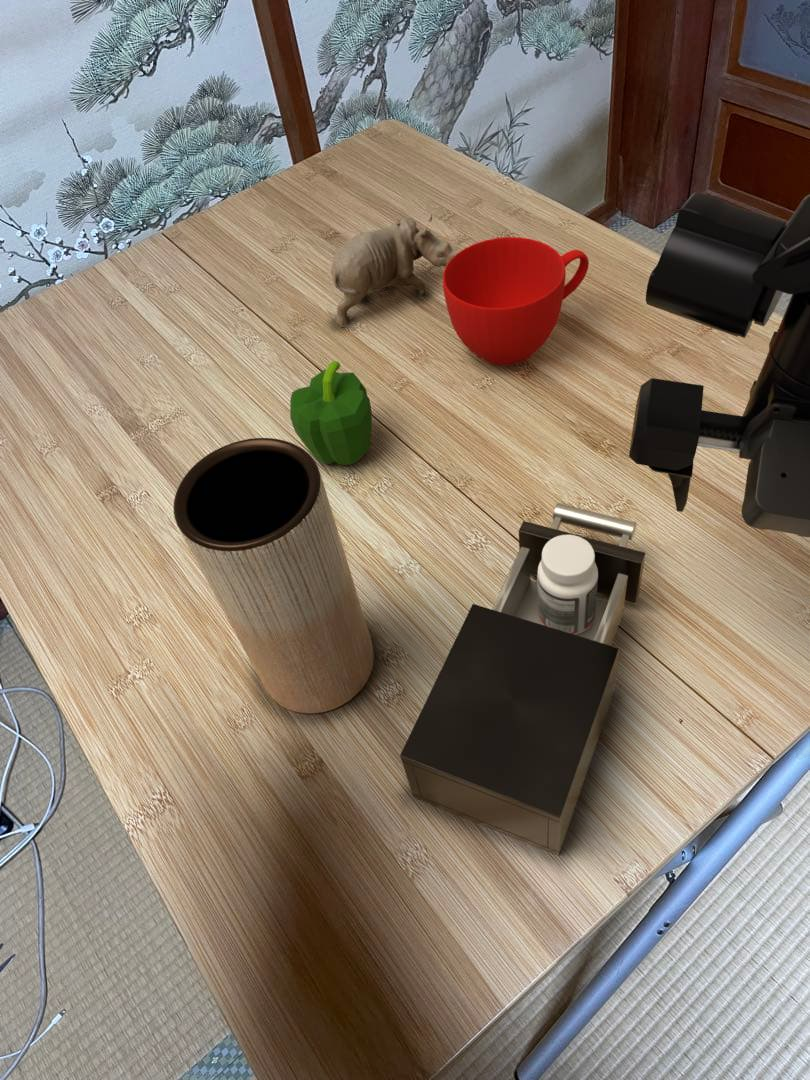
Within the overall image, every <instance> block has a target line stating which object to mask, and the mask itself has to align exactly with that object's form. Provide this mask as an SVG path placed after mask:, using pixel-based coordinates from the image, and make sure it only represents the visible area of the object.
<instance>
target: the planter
mask: <svg viewBox="0 0 810 1080" xmlns="http://www.w3.org/2000/svg"><path fill="white" fill-rule="evenodd" d="M330 503H331V502H330V501H329V497H328V493H327V491H326V487H325V484H324V481H323V478H322V474H321V471H320V469H319V466H318V464H317V463H316V461H315V459H314V458H313V457H312V456H311V454H309V452H307V451H306V450H305V449H303V448H302V447H301V446H299V445H297V444H295V443H293V442H290V441H287V440H284V439H280V438H273V437H255V438H247V439H242V440H238V441H234V442H231V443H229V444H226V445H224V446H221V447H218V448H216V449H215V450H213V451H211V452H210V453H208V454H206V455H205V456H204V457H203V458H201V459H200V460H198V461H197V462H196V463H195V464H194V465H193V466H192V467H191V468H190V469H189V470H188V471H187V472H186V474H185V475H184V477H183V478H182V479H181V481H180V483H179V485H178V487H177V489H176V492H175V495H174V498H173V506H172V507H173V508H172V509H173V517H174V521H175V523H176V526H177V528H178V530H179V532H180V534H181V536H182V537H183V539H184V542H185V544H186V545H187V547H188V548H189V551H190V552H191V555H192V556H193V558H194V560H195V562H196V563H197V566H198V567H199V569H200V571H201V573H202V575H203V576H204V578H205V580H206V582H207V584H208V586H209V588H210V589H211V591H212V593H213V595H214V597H215V599H216V601H217V602H218V604H219V606H220V608H221V610H222V611H223V613H224V615H225V617H226V619H227V621H228V623H229V625H230V626H231V628H232V630H233V632H234V634H235V635H236V638H237V640H238V641H239V643H240V645H241V646H242V649H243V651H244V652H245V654H246V656H247V658H248V660H249V662H250V664H251V665H252V667H253V670H254V671H255V673H256V675H257V677H258V678H259V680H260V682H261V684H262V685H263V687H264V689H265V690H266V691H267V693H268V695H269V696H270V697H271V698H272V699H273V700H274V701H275V702H276V703H277V704H279V705H280V706H281V707H283V708H285V709H287V710H289V711H292V712H295V713H301V714H319V713H324V712H328V711H329V712H330V711H331V710H335V709H337V708H340V707H341V706H343V705H345V704H346V703H348V702H349V701H351V700H352V699H353V698H355V697H356V695H358V693H360V692H361V690H362V689H363V688H364V686H365V685H366V683H367V682H368V680H369V678H370V676H371V673H372V670H373V667H374V661H375V660H374V659H375V658H374V657H375V655H374V646H373V642H372V637H371V634H370V631H369V627H368V625H367V624H368V623H367V621H366V617H365V615H364V611H363V608H362V605H361V602H360V598H359V595H358V592H357V588H356V585H355V582H354V578H353V576H352V575H353V574H352V572H351V569H350V565H349V562H348V559H347V556H346V552H345V549H344V546H343V542H342V540H341V539H342V538H341V536H340V533H339V530H338V526H337V523H336V520H335V517H334V516H335V515H334V513H333V510H332V507H331V504H330Z"/></svg>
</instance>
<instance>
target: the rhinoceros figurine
mask: <svg viewBox="0 0 810 1080" xmlns="http://www.w3.org/2000/svg"><path fill="white" fill-rule="evenodd" d="M432 221H433V214H430V215H429V216H428V219H427V222H428V223H431V222H432ZM394 222H395V223H392V224H391V225H390V226H387V227H383V228H379V229H376V230H375V229H374V230H371V231H365V232H362V233H359V234H356V235H354V236H353V237H352V238H350V239H348V240H347V241H346V242H344V243H343V244H341V246H340V247H339V248H338V250H337V251H336V252H335V254H334V256H333V260H332V264H331V270H330V274H331V277H332V282H333V286H334V287H335V288H336V289H338V290H339V291H340V292H341V293H343V295H344V297H343V298H342V300H341V301H340V302H339V304H337V308H336V315H335V320H336V324H337V325H339V326H340V328H344V327H347V326H349V325H350V324H351V323H352V320H351V319H350V317H349V316H348V314H347V313H348V312H349V310H350V309H352V308H353V307H354V306H356V305H358V304H359V303H363V302H366V301H367V297H368V296H369V295H368V294H369V293H372V292H375V291H379V290H382V289H384V288H387V287H403V288H409V287H412V288H416V290H418V296H419V297H418V298H419V299H420V300H424V299H425V297H427V296H428V292H426V284H425V283H424V281H423V279H421V278H420V277H419V276H417V275H415V273H414V270H415V267H414V261H417V260H418V259H421V258H422V257H423V258H424V259H425V260H426V261H428V262H430V263H431V265H433V267H436V268H440V267H446V265H447V264H448V263H449V261H450V260H451V259H452V258H453V257H454V256H455V255H456V254H457V253H459V252H460V251H461V250H458V249H457V250H455V249H453V247H452V246H451V244H450V242H448V241H443V240H440V239H439V238H437V236H435V235H434V234H433V233H432V232H431V230H429V229H428V227H427V225H425V227H424V228H422V227H419V228H418V227H417V222H416V221H415V219H414V218H412V217H404V218H402V219H400V220H399V219H398V220H395V221H394Z"/></svg>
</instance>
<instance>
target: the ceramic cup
mask: <svg viewBox="0 0 810 1080" xmlns="http://www.w3.org/2000/svg"><path fill="white" fill-rule="evenodd" d="M459 251H460V252H459V253H457V254H456V255H455V256H454V257H453V258H452V259H451V260H450V261H449V263H448V264H447V265H446V267H445V266H444V267H445V268H444V270H443V273H442V290H443V296H444V301H445V304H446V308H447V312H448V317H449V319H450V321H451V325H452V327H453V330H454V332H455V333H456V335H457V336H458V338H459V340H460V341H461V342H462V343H463V345H464V346H465V347H466V348H467V349H469V350H470V352H472V353H473V354H475V355H476V356H478V357H479V358H481V359H482V360H483V361H485V362H486V363H488V364H491V365H495V366H503V367H505V366H513V365H517V364H520V363H523V362H525V361H527V360H528V359H529V358H530V357H531V356H532V355H534V353H536V352H537V351H539V350H540V349H541V348H542V346H543V345H544V344H545V343H546V342H547V341H548V339H550V337H551V335H552V333H553V332H554V329H555V328H556V326H557V324H558V321H559V318H560V314H561V310H562V306H563V301H564V300H565V299H566V298H567V297H568V298H569V296H570V295H571V294H572V293H573V292H574V291H576V290H577V288H578V287H579V286H580V285H581V283H582V282H583V281H584V279H585V277H586V275H587V272H588V270H589V266H590V260H589V258H588V256H587V254H586V253H585V252H584V251H583V250H580V249H572V250H569V251H567V252H565V253H564V254H562V255H561V254H560V253H559V252H558V251H557V250H556V249H555V248H554V247H552V246H550V245H549V244H547V243H544V242H541V241H540V240H536V239H533V238H528V237H527V238H526V237H519V236H518V237H516V236H506V237H496V238H490V239H485V240H481V241H479V242H476V243H473V244H471V245H469V246H467V247H464V248H463V249H462V250H459ZM577 259H579V264H578V267H577V269H576V271H575V273H574V275H573V276H572V277H571V279H570V280H569V281H568V282H567V283H566V274H567V273H566V268H567V266H568V265H569V264H570V263H572V262H573V261H575V260H577Z"/></svg>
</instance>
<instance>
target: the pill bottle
mask: <svg viewBox="0 0 810 1080" xmlns="http://www.w3.org/2000/svg"><path fill="white" fill-rule="evenodd" d="M579 536H580V535H579ZM579 536H575V535H560V536H557V537H555V538H553V539H551V540H550V541H548V542H547V543H546V545H545V546H544V548H543V551H542V560H541V561H540V563H539V566H538V572H537V576H536V579H537V581H536V582H537V585H538V614H539V618H540V620H541V622H542V624H543V625H544V626H548V627H551V628H554V629H557V630H561V631H564V632H567V633H571V634H574V635H577V634H580V633H582V632H584V631H585V630H587V629H588V628H589V627H590V626H591V624H592V623H593V621H594V618H595V610H596V599H597V597H598V593H597V585H598V569H597V566H596V563H595V554H594V550H593V548H592V546H591V545H590V544H589V543H588V542H587V541H586V540H585V539H583V538H581V537H579Z"/></svg>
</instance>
